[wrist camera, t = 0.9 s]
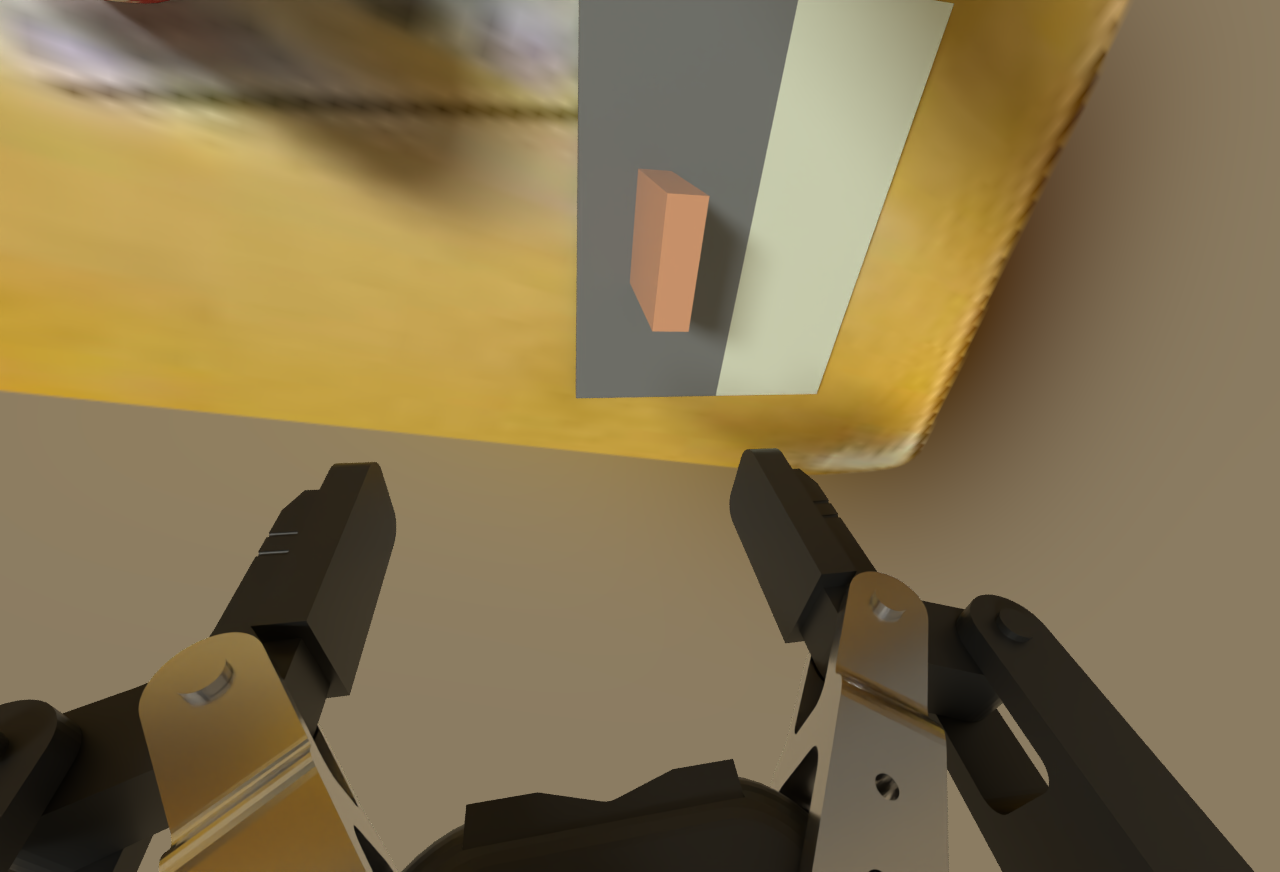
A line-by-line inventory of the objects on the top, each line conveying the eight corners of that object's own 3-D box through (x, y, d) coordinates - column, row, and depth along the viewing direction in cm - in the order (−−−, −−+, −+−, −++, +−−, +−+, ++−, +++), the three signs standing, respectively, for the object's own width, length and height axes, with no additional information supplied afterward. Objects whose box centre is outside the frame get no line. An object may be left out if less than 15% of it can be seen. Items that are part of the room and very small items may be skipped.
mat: (579, -55, 20) (580, -58, 20) (945, 5, 23) (954, 3, 23) (575, 393, 33) (576, 398, 32) (812, 389, 36) (816, 393, 36)
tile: (638, 168, 25) (667, 193, 19) (672, 171, 25) (710, 196, 20) (629, 282, 28) (652, 331, 23) (659, 283, 29) (689, 331, 23)
